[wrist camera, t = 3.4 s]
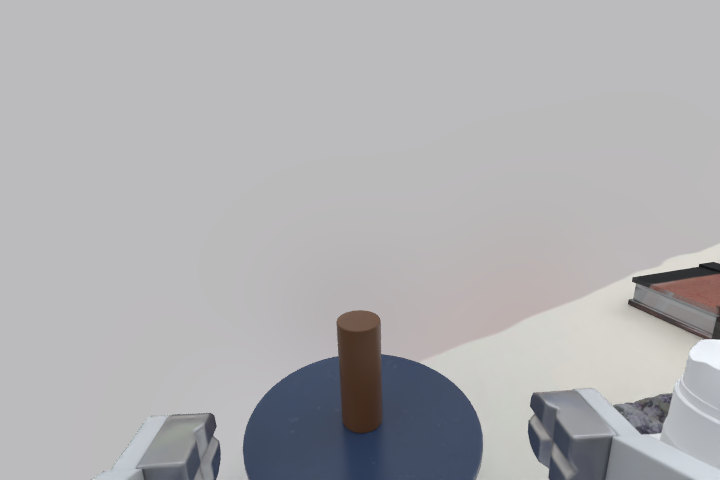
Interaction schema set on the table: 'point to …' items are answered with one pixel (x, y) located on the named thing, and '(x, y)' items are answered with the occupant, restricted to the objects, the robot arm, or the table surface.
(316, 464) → the lid
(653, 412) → the mineral rock
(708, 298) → the book
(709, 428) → the spray bottle
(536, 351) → the table surface
